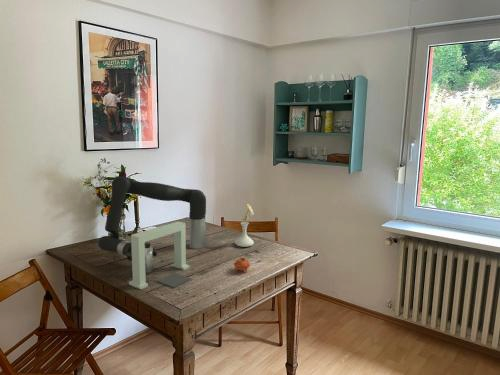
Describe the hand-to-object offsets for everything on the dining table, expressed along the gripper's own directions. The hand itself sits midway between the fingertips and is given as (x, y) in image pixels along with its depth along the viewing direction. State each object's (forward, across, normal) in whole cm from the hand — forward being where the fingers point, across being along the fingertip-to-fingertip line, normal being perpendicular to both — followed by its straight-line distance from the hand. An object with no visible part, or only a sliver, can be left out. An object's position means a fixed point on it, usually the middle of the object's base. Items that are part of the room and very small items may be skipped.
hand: (149, 256), depth 174 cm
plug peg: (-1, 0, +8) cm, 8 cm away
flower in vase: (+14, +60, +8) cm, 62 cm away
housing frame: (+8, 0, +8) cm, 11 cm away
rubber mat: (+17, 0, +8) cm, 19 cm away
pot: (+35, +28, +8) cm, 46 cm away
